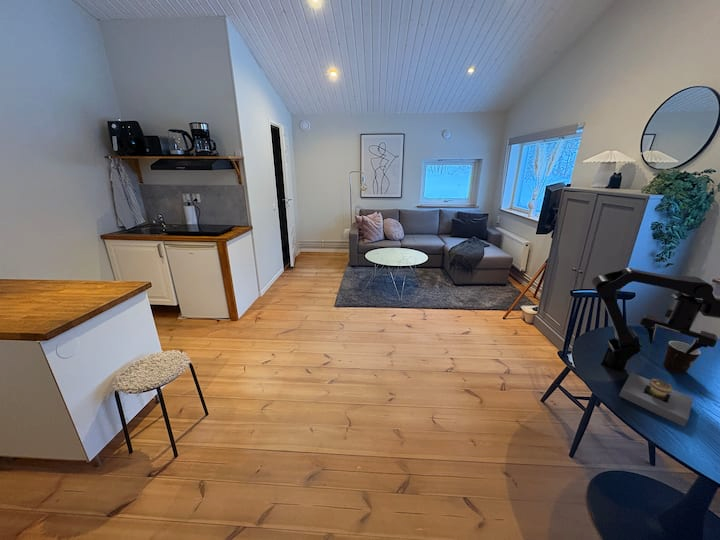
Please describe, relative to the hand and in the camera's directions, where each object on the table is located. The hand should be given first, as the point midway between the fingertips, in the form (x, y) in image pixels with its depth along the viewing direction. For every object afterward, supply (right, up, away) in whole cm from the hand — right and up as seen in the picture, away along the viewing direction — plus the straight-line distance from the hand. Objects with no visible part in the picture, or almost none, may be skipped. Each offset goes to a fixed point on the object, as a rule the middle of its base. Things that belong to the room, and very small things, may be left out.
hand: (667, 349), depth 108 cm
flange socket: (-13, -16, -8) cm, 22 cm away
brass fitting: (-13, -16, -8) cm, 22 cm away
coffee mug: (+10, -10, +8) cm, 16 cm away
